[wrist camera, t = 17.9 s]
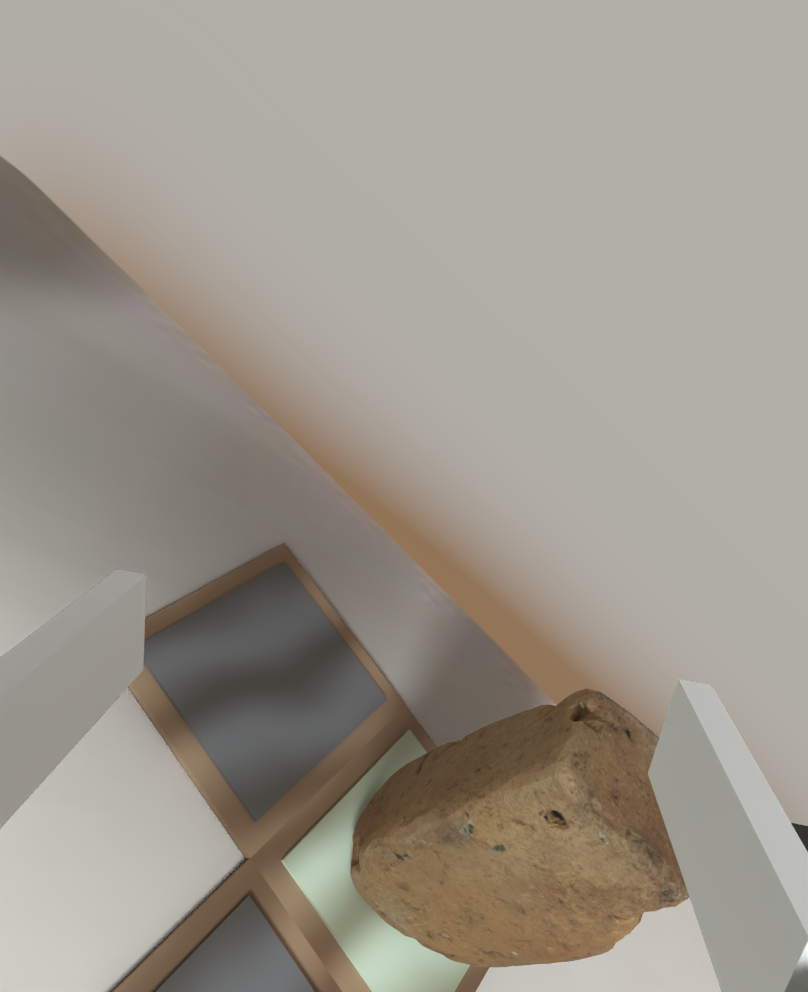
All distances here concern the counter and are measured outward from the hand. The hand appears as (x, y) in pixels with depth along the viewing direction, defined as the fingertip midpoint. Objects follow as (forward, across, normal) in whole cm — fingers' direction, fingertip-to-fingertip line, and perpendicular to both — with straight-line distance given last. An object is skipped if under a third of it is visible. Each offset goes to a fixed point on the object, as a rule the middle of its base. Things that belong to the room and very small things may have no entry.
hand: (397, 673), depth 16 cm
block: (+19, +2, -26) cm, 32 cm away
